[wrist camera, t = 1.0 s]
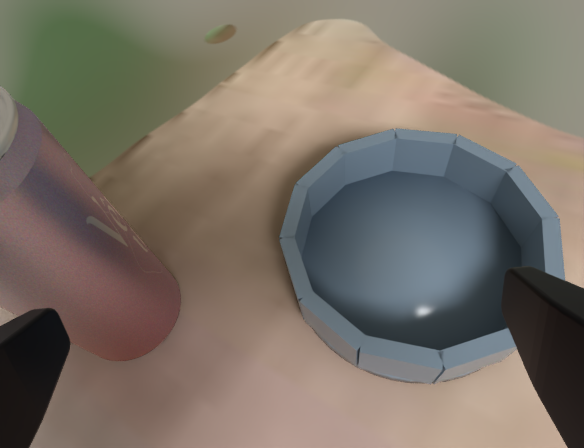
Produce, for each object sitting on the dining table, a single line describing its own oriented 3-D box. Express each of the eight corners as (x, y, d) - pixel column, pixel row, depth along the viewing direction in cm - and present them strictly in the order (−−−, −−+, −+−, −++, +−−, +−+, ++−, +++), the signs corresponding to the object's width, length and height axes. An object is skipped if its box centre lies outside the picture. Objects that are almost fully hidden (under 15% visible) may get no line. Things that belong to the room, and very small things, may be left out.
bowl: (439, 446, 20) (458, 439, 16) (246, 273, 26) (230, 241, 22) (576, 251, 24) (614, 213, 20) (383, 142, 30) (388, 98, 26)
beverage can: (81, 291, 26) (-168, 113, 14) (171, 254, 27) (14, 51, 14) (95, 382, 23) (-213, 260, 10) (196, 337, 24) (23, 171, 11)
